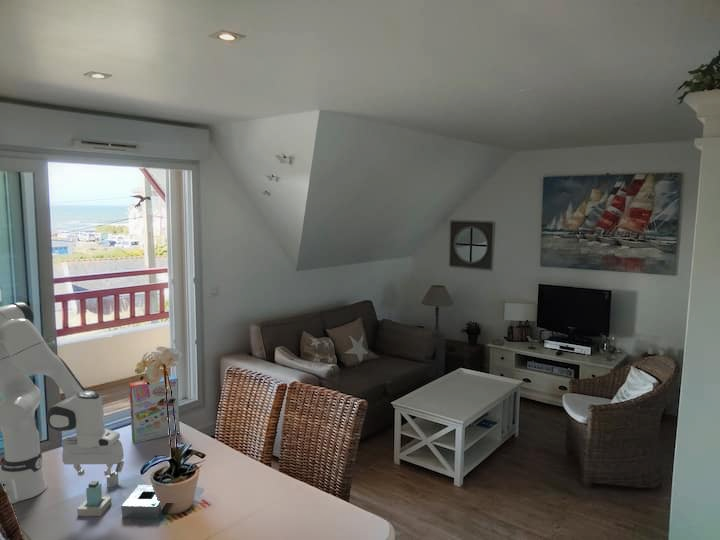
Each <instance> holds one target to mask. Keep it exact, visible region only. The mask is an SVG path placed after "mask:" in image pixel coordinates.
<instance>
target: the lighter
mask: <svg viewBox="0 0 720 540" xmlns="http://www.w3.org/2000/svg"><path fill="white" fill-rule="evenodd" d="M124 463H125V461H124V460H121V462H120V463H118V464H116V468H115V470H111V474H110V475H106V487H107V488H109V489H110V488H113V487H114V486H116V485H118V484H119V473H122V470H123V467H124Z"/></svg>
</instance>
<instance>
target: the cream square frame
mask: <svg viewBox="0 0 720 540" xmlns="http://www.w3.org/2000/svg"><path fill="white" fill-rule="evenodd" d="M110 505H112V497H111V496H102V503H101V504H100V505H99V506H98V507H87V498H86V499H85V500H84V501H83V502H82V503H81V504H80V505H79V506H78V507H77V511H76V512H77V515H76V516H77V517H79V516H80V517H101V516H102V515H103V514H104V513H105V512H106V510H108V508H109V506H110Z"/></svg>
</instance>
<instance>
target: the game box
mask: <svg viewBox="0 0 720 540" xmlns="http://www.w3.org/2000/svg"><path fill="white" fill-rule="evenodd" d="M168 377H169V380H170V385H171V390H172V397H173V404H174V415H175V420H176V428H177V433H178V432H179V433H178V434H181V430H180V412H179V411H180V410H179V380H178V377H177V376H176V375H170V376H169V375H168ZM161 378H162V379H161V380H160V381H159V382H158V383H156V384H152V385H148V384H147V383H146V382H144V381H145V380H139V381H135V382H129V384H128V385H129V402H130V403H129V406H130V407H129V408H130V425H131V428H130V429H131V440H132V442H133V443H132V444H137V443H141V442H147V441H150V440H151V441H152V440H155V439H159V438H160V439H161V438H164V437H169V436H168V420H167V404H166V392H165V381H164V377H161ZM167 395H168V411H169V418H170V431H171V435H170V436H173V435H176V434H175V429H174V416H173V406H172V397H171V391H170V388H169V387H168V389H167Z"/></svg>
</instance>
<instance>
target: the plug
mask: <svg viewBox="0 0 720 540" xmlns="http://www.w3.org/2000/svg"><path fill="white" fill-rule="evenodd" d="M85 492H86V499H87V507H98V506H99V505H100V504H101V503H102V497H103V496H102V494H103V491H102V483H101V482H100V481H99V480H91V481H90V482H89V483H88V486H86V488H85Z"/></svg>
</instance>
